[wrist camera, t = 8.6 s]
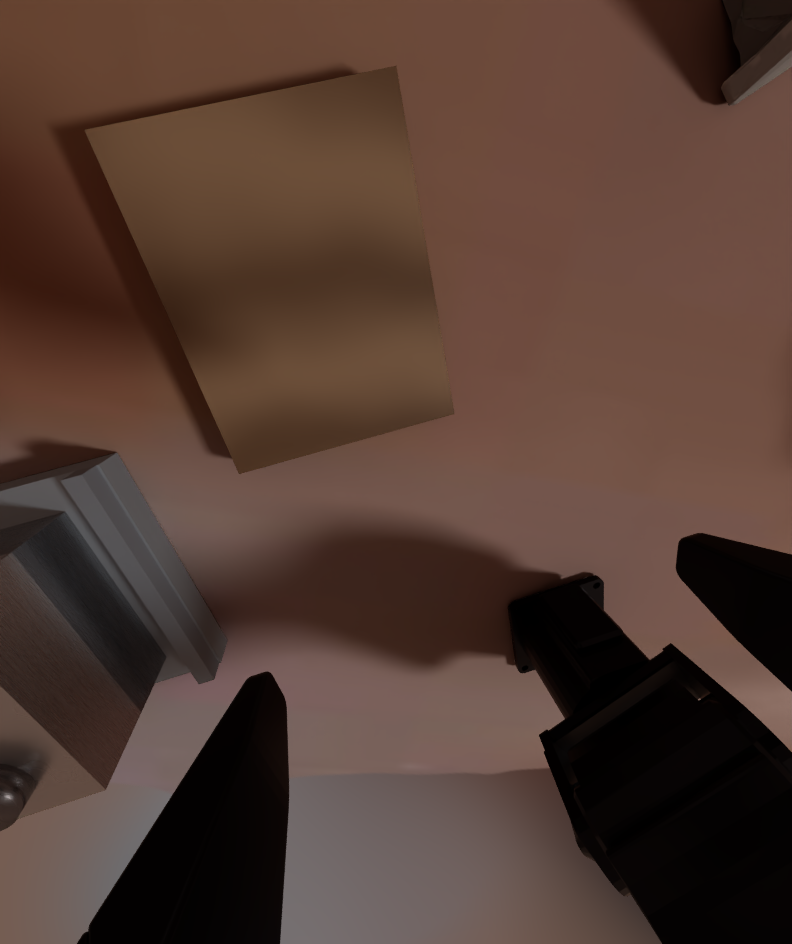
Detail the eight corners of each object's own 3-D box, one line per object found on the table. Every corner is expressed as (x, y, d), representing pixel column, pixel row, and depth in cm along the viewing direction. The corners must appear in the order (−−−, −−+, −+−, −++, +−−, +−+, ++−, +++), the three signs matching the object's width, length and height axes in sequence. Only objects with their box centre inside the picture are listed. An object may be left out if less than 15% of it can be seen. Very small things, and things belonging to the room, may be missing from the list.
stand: (444, 406, 19) (454, 413, 17) (245, 461, 18) (239, 474, 16) (388, 90, 14) (396, 65, 12) (109, 149, 13) (84, 130, 11)
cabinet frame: (227, 640, 22) (216, 678, 19) (49, 695, 21) (16, 742, 19) (116, 452, 17) (84, 474, 14) (-122, 516, 16) (-196, 550, 14)
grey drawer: (65, 511, 16) (-102, 638, 10) (166, 656, 19) (93, 816, 13) (-73, 549, 15) (-340, 707, 9) (58, 690, 19) (-70, 870, 13)
